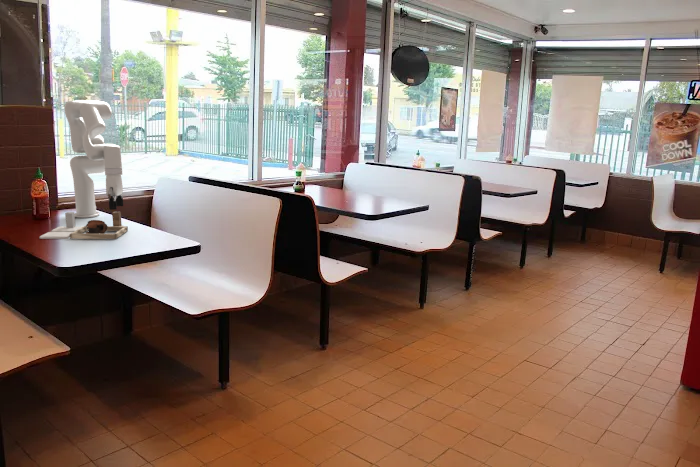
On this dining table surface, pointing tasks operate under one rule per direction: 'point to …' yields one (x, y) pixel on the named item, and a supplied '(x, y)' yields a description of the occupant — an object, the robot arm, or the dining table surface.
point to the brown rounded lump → (96, 227)
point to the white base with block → (62, 229)
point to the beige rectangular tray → (116, 227)
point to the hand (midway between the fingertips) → (116, 207)
